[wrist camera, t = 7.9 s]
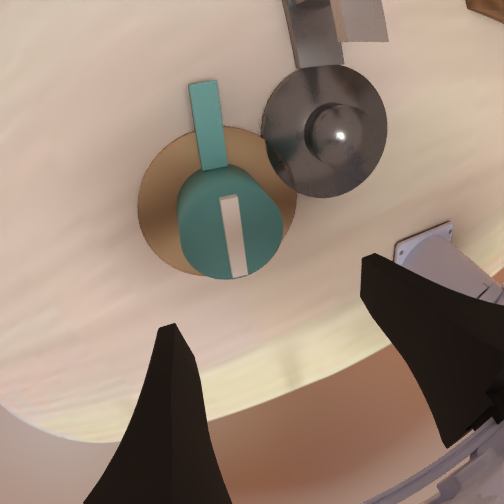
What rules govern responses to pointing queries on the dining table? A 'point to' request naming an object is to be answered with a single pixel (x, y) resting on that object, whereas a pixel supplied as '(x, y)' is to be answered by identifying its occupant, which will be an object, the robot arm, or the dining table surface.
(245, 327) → the dining table surface
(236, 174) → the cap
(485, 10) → the tray
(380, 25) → the dark grey handled bowl
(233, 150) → the coaster
